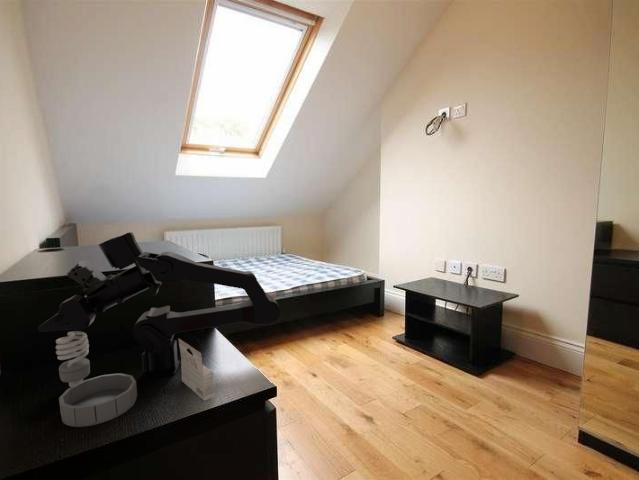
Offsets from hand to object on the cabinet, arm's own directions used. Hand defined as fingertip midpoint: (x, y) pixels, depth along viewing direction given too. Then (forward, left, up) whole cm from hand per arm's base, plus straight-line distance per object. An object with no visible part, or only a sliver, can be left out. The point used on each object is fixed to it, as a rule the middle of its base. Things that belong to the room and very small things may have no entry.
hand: (48, 321), depth 73 cm
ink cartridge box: (-30, +8, -15) cm, 34 cm away
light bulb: (-5, +2, -14) cm, 15 cm away
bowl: (-13, +11, -14) cm, 22 cm away
